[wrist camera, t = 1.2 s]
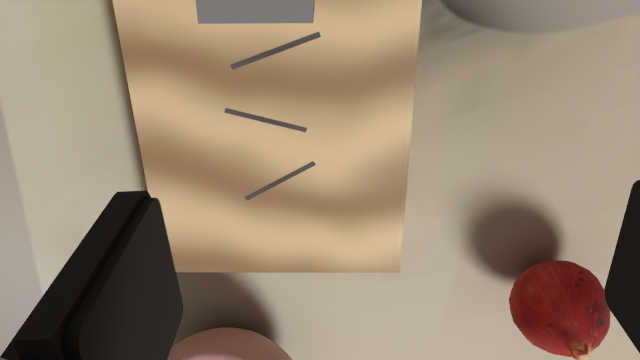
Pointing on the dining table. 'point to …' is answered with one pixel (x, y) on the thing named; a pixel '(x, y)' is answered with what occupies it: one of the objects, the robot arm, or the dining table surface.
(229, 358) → the mortar and pestle
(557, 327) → the pomegranate
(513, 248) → the dining table surface
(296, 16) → the block
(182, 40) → the oak board
